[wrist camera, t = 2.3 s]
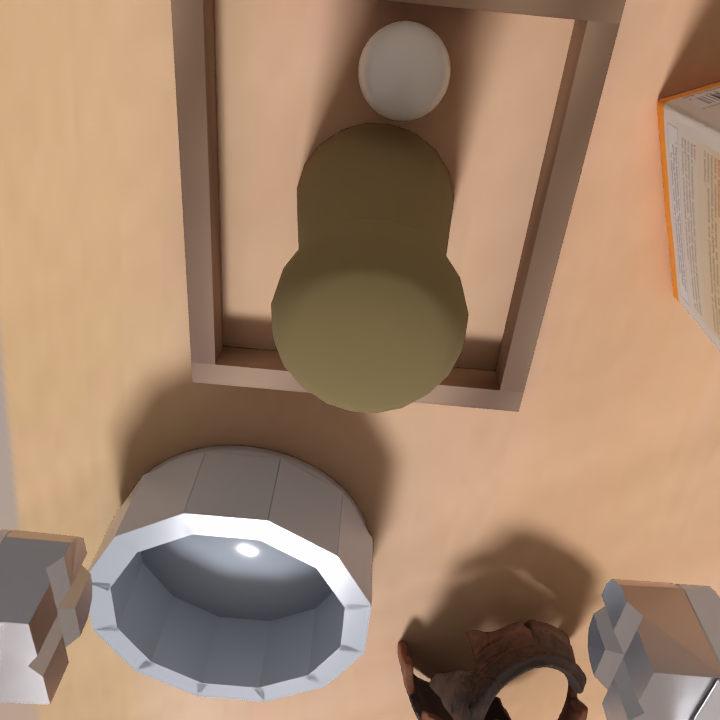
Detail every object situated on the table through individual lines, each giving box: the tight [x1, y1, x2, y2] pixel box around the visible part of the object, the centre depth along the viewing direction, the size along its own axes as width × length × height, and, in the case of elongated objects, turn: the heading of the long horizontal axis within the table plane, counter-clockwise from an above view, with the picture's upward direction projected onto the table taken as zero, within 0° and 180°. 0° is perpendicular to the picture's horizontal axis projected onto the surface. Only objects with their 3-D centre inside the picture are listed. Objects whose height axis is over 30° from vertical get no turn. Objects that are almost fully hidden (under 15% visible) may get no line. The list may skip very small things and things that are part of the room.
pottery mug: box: [398, 620, 588, 720], centre depth 38 cm, size 12×10×8 cm
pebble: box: [358, 21, 451, 121], centre depth 22 cm, size 3×3×3 cm
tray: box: [171, 0, 626, 412], centre depth 25 cm, size 14×16×2 cm
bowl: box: [88, 445, 373, 702], centre depth 34 cm, size 13×13×5 cm
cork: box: [271, 123, 468, 413], centre depth 21 cm, size 6×6×11 cm
